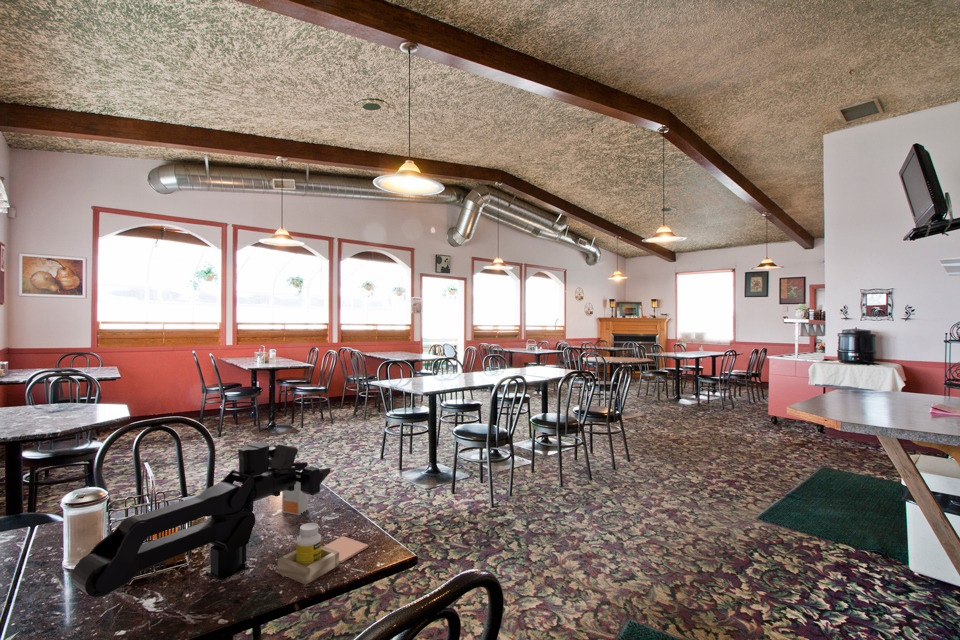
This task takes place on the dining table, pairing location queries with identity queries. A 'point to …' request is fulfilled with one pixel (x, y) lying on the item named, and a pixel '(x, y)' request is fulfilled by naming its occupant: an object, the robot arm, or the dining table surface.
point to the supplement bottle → (308, 545)
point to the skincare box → (294, 500)
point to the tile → (346, 547)
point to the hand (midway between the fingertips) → (318, 467)
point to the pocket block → (311, 572)
